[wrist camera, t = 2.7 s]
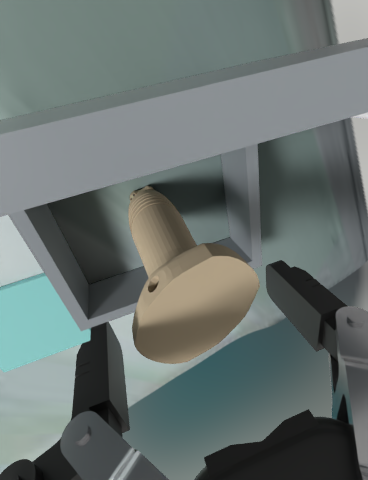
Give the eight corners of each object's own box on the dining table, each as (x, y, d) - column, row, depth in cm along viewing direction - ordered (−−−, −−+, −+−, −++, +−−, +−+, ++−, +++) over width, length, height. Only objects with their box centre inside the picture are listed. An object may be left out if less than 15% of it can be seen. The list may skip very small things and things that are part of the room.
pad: (-56, 305, 23) (-59, 309, 23) (56, 268, 25) (55, 272, 24) (5, 367, 29) (4, 372, 28) (95, 334, 30) (94, 338, 30)
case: (-13, 122, 18) (-750, 313, 2) (232, 65, 21) (660, -23, 5) (83, 295, 27) (67, 576, 11) (245, 239, 30) (415, 402, 14)
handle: (103, 214, 24) (112, 348, 11) (144, 157, 22) (208, 237, 10) (145, 239, 26) (191, 371, 14) (185, 188, 25) (276, 284, 12)
